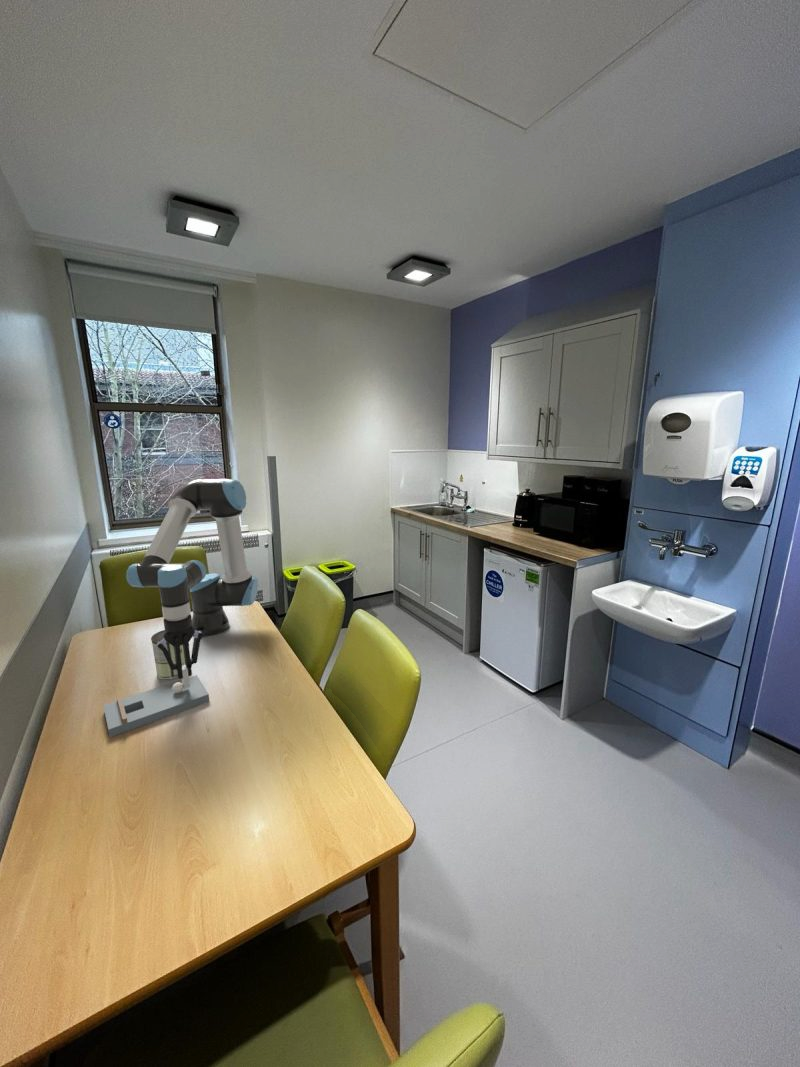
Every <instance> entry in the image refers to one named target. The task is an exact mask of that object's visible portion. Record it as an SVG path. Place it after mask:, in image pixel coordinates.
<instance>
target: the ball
mask: <svg viewBox="0 0 800 1067" xmlns="http://www.w3.org/2000/svg"><path fill="white" fill-rule="evenodd" d="M183 688H184V686H183V684H182V683H180V682H177V683H175V684H174V685H173V687H172V691H173V692H174V693H180V692H181V691H182V690H183Z"/></svg>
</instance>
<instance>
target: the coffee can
mask: <svg viewBox="0 0 800 1067" xmlns="http://www.w3.org/2000/svg"><path fill="white" fill-rule="evenodd" d="M164 634H165V629H163V630H160V631H158V632H156V633H154V634H152V636H151V638H150V640H151V645H152V650H153V651H152V652H153V656H154V663H155V668H156V669H155V670H156V677H157V678H158V679H160V680H172V679H173V680H174V679H176V678H178V674H177V670H171V668H170V666H169V664H168V662H167V660H166V658H165V656H164V654H163V651H162V650H161V649H159V648H158V646H157V644H156V643H157V642H158V641H161V640H162V639H163V638H164ZM166 644H167V646H166V649H167V650H168V653H169V655H170V657H171V659H172V661H173V663H174V664H176V662H175V654H174V647H173V646H172V645H171V644H170V643H168V642H166ZM180 655H181V663H182V666H183V665H186V664H185V659H184V651H183V645H180Z"/></svg>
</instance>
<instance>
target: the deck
mask: <svg viewBox="0 0 800 1067" xmlns="http://www.w3.org/2000/svg"><path fill="white" fill-rule="evenodd" d="M177 682H180V683H182V679H179V680H176V681H174V682H170V683H167V684H164V685H161V686H158V687H155V688H152V689H148V690H145V691H142V692H139V693H136V694H134V695H129V696H126V697H122V696H121V694H119V695H116V700H114V701H111V702H109V703H105V704H103V705H102V706H103V711H104V716H105V721H106V726H107V730H108V735H109V738H112V737H116V736H118V735H121V734H124V733H126V732H129V731H132V730H134V729H137V728H140V727H142V726H146V725H148V724H151V723H153V722H156V721H159V720H162V719H164V718H167V717H171V716H172V715H173V716H174V715H175V714H178V713H181V712H184V711H187V710H189V709H193V708H195V707H197V706H200V705H203V704H206V703H209V702H210V696H209V692H208V691H207V689H206V688H205V686H204V685H203V683H202V681H201V680H200V677H198V675H197V674H196V675H193V676H192V675H191V676H189V684H190V687H188V688H183V690H182V691H181V692H180V693H174V692H173V691H172V687H173V685H174V684H175V683H177Z"/></svg>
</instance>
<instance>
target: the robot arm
mask: <svg viewBox="0 0 800 1067" xmlns="http://www.w3.org/2000/svg"><path fill="white" fill-rule="evenodd" d="M167 504H168V505H167V506H168V511H167V512H166V514H165V516H164V519H163V521H162V522H161V524H160V526H159V528H158V530H157V532H156V533H155V535H154V537H153V539H152V541H151V543H150V545H149V547H148V549H147V551H146V553H145V554H144V557H143V558H142V560H141V562H140V563H139V562H137V563H132V564H131V565H129V566H128V568H127V571H126V575H125V576H126V578H125V579H126V581H127V583H128V584H129V586H131V587H134V588H143V589H144V588H159V595H160V601H161V602H160V604H161V611H162V618H163V625H164V626H163V627H164V628H163V629H164V630H165V634H164V638H163V639H162V640H161V641H158V642H157V643H156V644H157V646H158V648H159V649H161V650H162V651H163V654H164V656H165V658H166V660H167V662H168V664H169V666H170V668H171V670H177V674H178V677H177V678H178V679H179V680H182V684H183V686H184V688H188V687H190V684H189V677H192V674H193V671H192V667H193V666H192V665H195V664H196V663H197V662H198V657H199V652H200V651H199V650H200V645H201V639H202V638H203V637H204V636H205V637H206V636H214V635H217V634H220V633H222V632H224V631H226V630H227V629H228V628H229V627H230V622H229V621H230V620H229V618H228V617H227V616H228V615H226V614H227V613H226V612H225V611H224V610H225V609H224V608H223V607H246V606H248V607H249V606H251V605H253V604H254V603H255V601H256V599H257V594H258V589H259V580H258V579H257V578H256V577H253V576H252V572H251V571H250V570H248V569H247V562H246V556H245V548H244V541H243V536H242V528H241V521H240V516H241V515H242V514H243V510H244V509H245V508H246V506H247V495H246V491H245V488H244V486H243V484H242V483H241V482H240V481H239V480H237V479H231V478H230V479H229V478H216V479H215V478H211V479H210V478H209V479H208V478H207V479H203V478H202V479H201V478H199V479H195V480H191V481H189V482H187V483H185V484H184V485H182V486H181V487H180V488H179V489H178V490H177V491H176V492H175V493H174V494H173V496H172V497H171V498H170V499H169V502H168V503H167ZM201 510H202V511H204V510H205V511H209V512H210V517H211V518H213V519H214V520H215V524H216V529H217V533H218V534H217V536H218V542H219V546H220V552H221V558H222V564H223V571H224V574H223V575H222V576H221V575H220V574H219V573H215V572H213V573H207V568H206V565H205V564H204V563H202V561H200V560H197V559H191V560H188V561H185V563H178V562H177V563H175V562H173V563H170V562H171V560H172V558H173V555H174V554H175V551H176V549H177V547H178V545H179V543H180V541H181V538H182V537H183V534H184V532H185V530H186V528H187V526H188V524H189V521H190V520H191V519H192V517H195V516H196V514H197V512H199V511H201ZM189 592H190V593H189ZM190 599H191V604H190ZM191 608H192V611H191ZM191 612H192V613H191ZM192 638H193V643H192V650H191V652H190V641H191V639H192ZM166 642H168V643H170V644H171V645H172V646H173V647H174V654H175V662H176V664H174V663H173V661H172V659H171V657H170V655H169V653H168V650H167V649H166V646H167V644H166ZM180 645H183V651H184V659H185V664H186V665H183V666H182V663H181V655H180Z"/></svg>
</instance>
